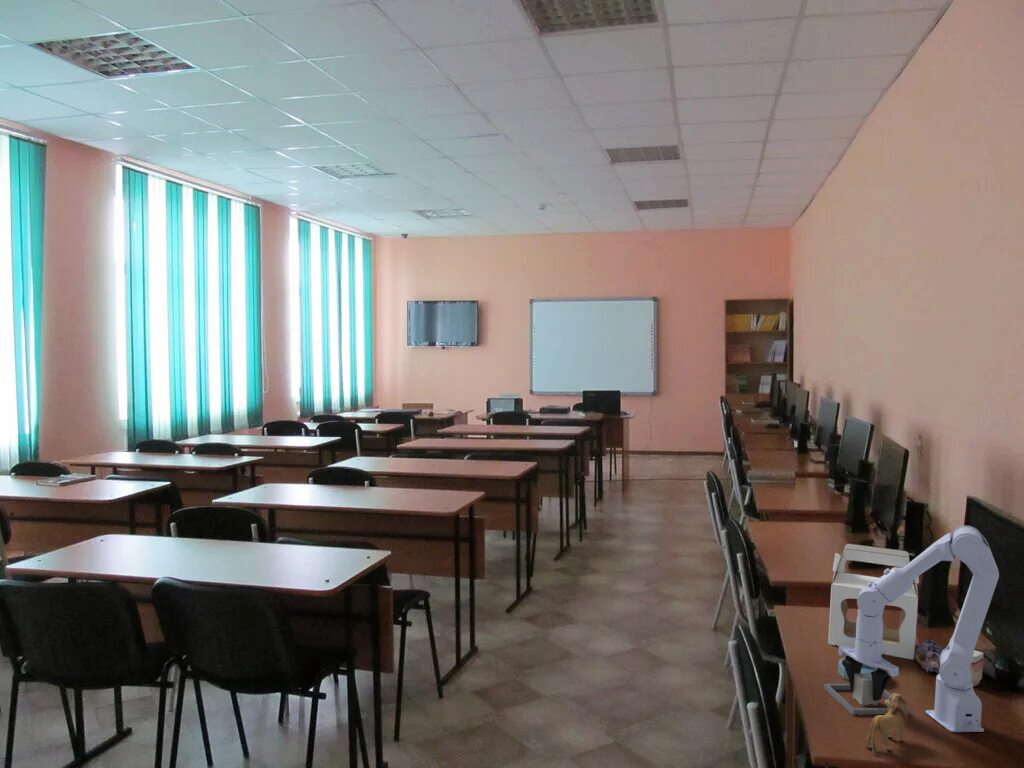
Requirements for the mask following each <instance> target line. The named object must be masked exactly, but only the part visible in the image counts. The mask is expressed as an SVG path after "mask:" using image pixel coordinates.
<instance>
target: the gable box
mask: <svg viewBox="0 0 1024 768" xmlns="http://www.w3.org/2000/svg"><path fill="white" fill-rule="evenodd" d="M847 561H855V562H863V563H871V564H876V565H884V566H892V567H897V568H904V567H905V566H906V565H907V564H909V563H910V562H911V561H910V555H909V552H908V551H906V550H901V549H893V548H885V547H880V546H879V547H878V546H870V545H861V544H855V543H846V544H845V545H844V549H843V552H842V553H841V554H840V553H839V552H835V553H834V559H833V564H832V565H833V566H832V572H834V574H833V576H832V581H831V585H830V587H831V588H830V601H829V603H830V606H829V607H830V608H829V622H828V623H829V624H828V638H827V639H828V641H827V643H828V645H831V646H835V645H837V646H836V647H840V646H846V647H850V648H853V649H855V642H856V624H857V622H853V621H850V620H848V617H847V614H848V609H849V608H848V603H847V599H852V600H853V599H855V600H857V599H858V595H859V593H860V591H861V590H862V589H863V588H865V587H869V586H868V583H870V582H872V583H873V582H875V581H876V580H877V579H879V578H880V577H881V576H873V575H867V574H859V573H853V572H846V571H845V568H846V567H845V565H846V562H847ZM919 576H920V575H919ZM919 576H917V577H916V578H914V579H913V585H912V588H911V589H910V590H908V591H907V592H906V593H904V594H903V595H901V596H900V597H899V598H897V599H896V600H895V601H893V602H892V603H890V604H886V605H885V606H892V607H897V608H900V609H901V612H900V614H899V626H898V628H897V629H891V628H888V627H886V626H884V625H883V635H882V652H881V655H884V654H885V656H890V657H896V658H901V659H907V660H911V661H912V660H915V653H916V637H917V636H916V634H917V623H918V621H917V620H918V605H919V604H918V603H919V594H918V593H919V592H918V584H919V583H920V577H919ZM843 631H845V632H843ZM849 632H850V633H849ZM844 633H845V634H844ZM854 633H855V634H854Z"/></svg>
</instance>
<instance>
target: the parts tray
mask: <svg viewBox="0 0 1024 768" xmlns="http://www.w3.org/2000/svg"><path fill="white" fill-rule="evenodd" d="M823 689H824V690H825V691H826V693H828V694H829V695H830V696H832V698H833V699H835V700H836V701H837V703H839V704H840V705H842V707H843V708H844V707H845V708H846V709H845V710H847V712H849V713H850V714H851V715H852V716H857V715H856V714H861V715H860V716H864V715H863V714H887V709H888V708H887V707H868V708H867V707H860V708H857V707H854V706H852V705H851V703H849V702H848V701H847V700H846V699H845V698H844V697H843V696H841V695H840V693H838V692H837V691H852V690H851V687H850V683H824V687H823ZM890 696H892V694H891V693H890V692H889V691H887V690H886V688H885V689H884V691H883V694H882V697H884V698H885V699H886V698H887V699H889V697H890ZM910 710H911V709H910V708H908V707H907V711H908V715H910Z"/></svg>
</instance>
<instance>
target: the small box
mask: <svg viewBox="0 0 1024 768" xmlns="http://www.w3.org/2000/svg"><path fill="white" fill-rule="evenodd" d="M983 666H984V652H983V651H979V650H976V649H974V654H973V659H972V663H971V673H972V679H971V681H972V682H973V688H974V687H976V686H978V685H980V684H979V682H980V680H981V679H982V680H983V669H984V668H983Z"/></svg>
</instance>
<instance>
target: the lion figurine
mask: <svg viewBox="0 0 1024 768" xmlns="http://www.w3.org/2000/svg"><path fill="white" fill-rule="evenodd" d="M891 695H892V696H890V697H889V699H886V698H885V700H884V704H885V706H886V708H888V709H887V714H885V715H874V717H873V718H872V721H871V723H870V730H869V733H868V736H867V737H866V743H865V744H866V745H865V747H866V746H867V747H872V748H871V750H872V753H873V754H875V753H876V750H877V749H876V745H875V743H876V742H875V735H876V732H877V731H878V730H879V733H880V734H881V738H882V741H881V743H882V745H883V747H884V749H885V750H886V749H892V747H891V746H890V745H888V740H889V738H888V737H890V738H892V732H895V731H896V730H897V731H898V733H897V741H898V740H900V741H904V742H905V739H904V738H903V736H904V731H905V725H906V724H907V723H908V717H909V714H908V711H907V708H908V705H907V700H906V699H905V697H904V696H903V695H902V694H899V693H892V694H891ZM900 741H899V742H900ZM867 747H866V748H867Z"/></svg>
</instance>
